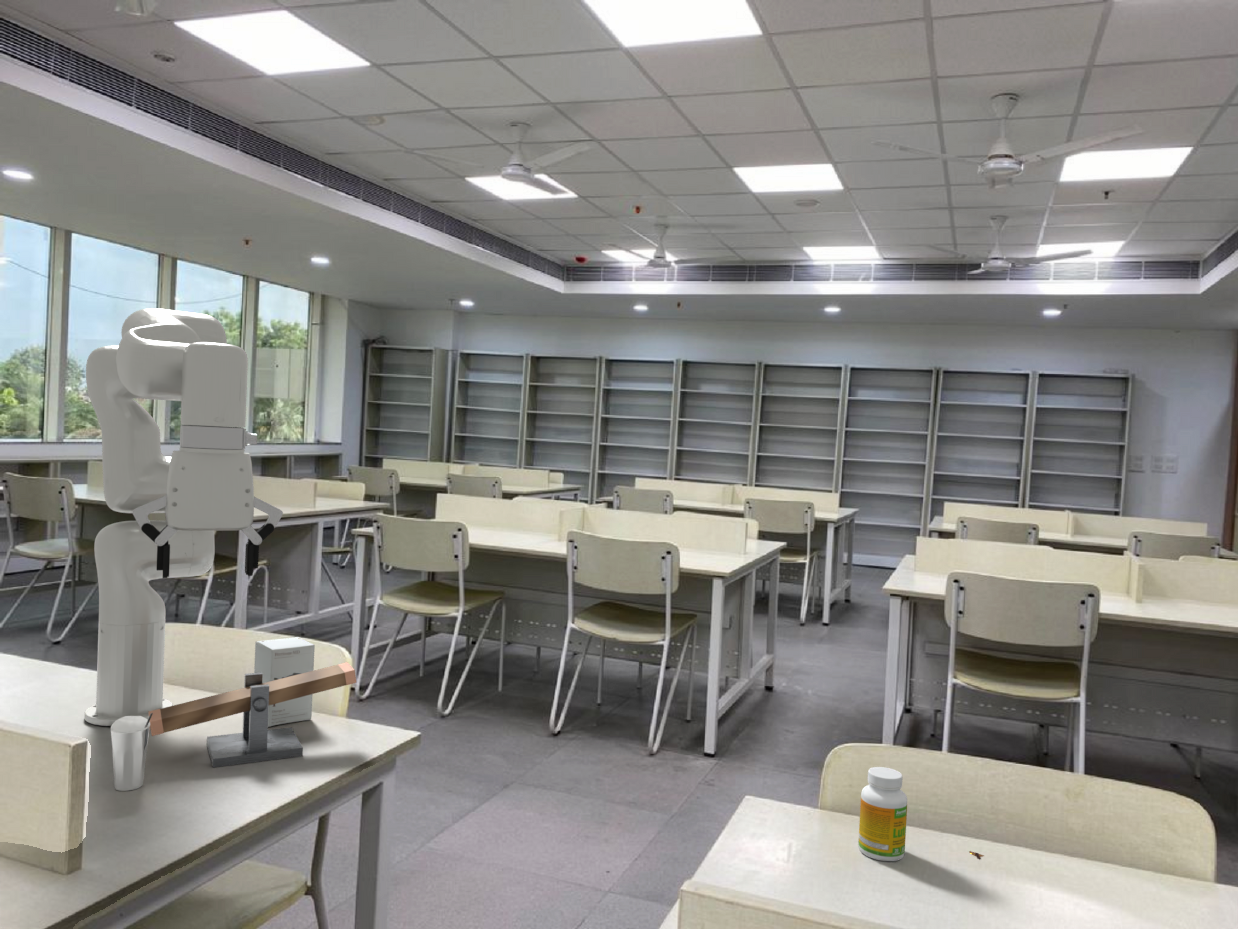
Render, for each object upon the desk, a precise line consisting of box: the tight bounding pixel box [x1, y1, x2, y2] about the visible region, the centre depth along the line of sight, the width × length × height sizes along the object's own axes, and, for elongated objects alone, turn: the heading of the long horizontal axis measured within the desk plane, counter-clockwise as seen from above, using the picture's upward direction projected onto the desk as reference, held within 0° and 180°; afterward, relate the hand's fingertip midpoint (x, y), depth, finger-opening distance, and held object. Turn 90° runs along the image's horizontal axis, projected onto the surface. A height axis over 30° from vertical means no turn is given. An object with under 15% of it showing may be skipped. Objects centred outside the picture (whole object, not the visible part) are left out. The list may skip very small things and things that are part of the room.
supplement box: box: [253, 636, 316, 728], centre depth 146 cm, size 7×7×13 cm
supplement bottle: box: [857, 766, 908, 862], centre depth 107 cm, size 5×5×10 cm
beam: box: [149, 661, 357, 737], centre depth 131 cm, size 28×5×2 cm, turn 119°
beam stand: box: [206, 672, 304, 768], centre depth 131 cm, size 12×10×10 cm
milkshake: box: [110, 713, 153, 792], centre depth 116 cm, size 5×5×10 cm
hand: (207, 575), depth 113 cm, fingers open, 9 cm apart
